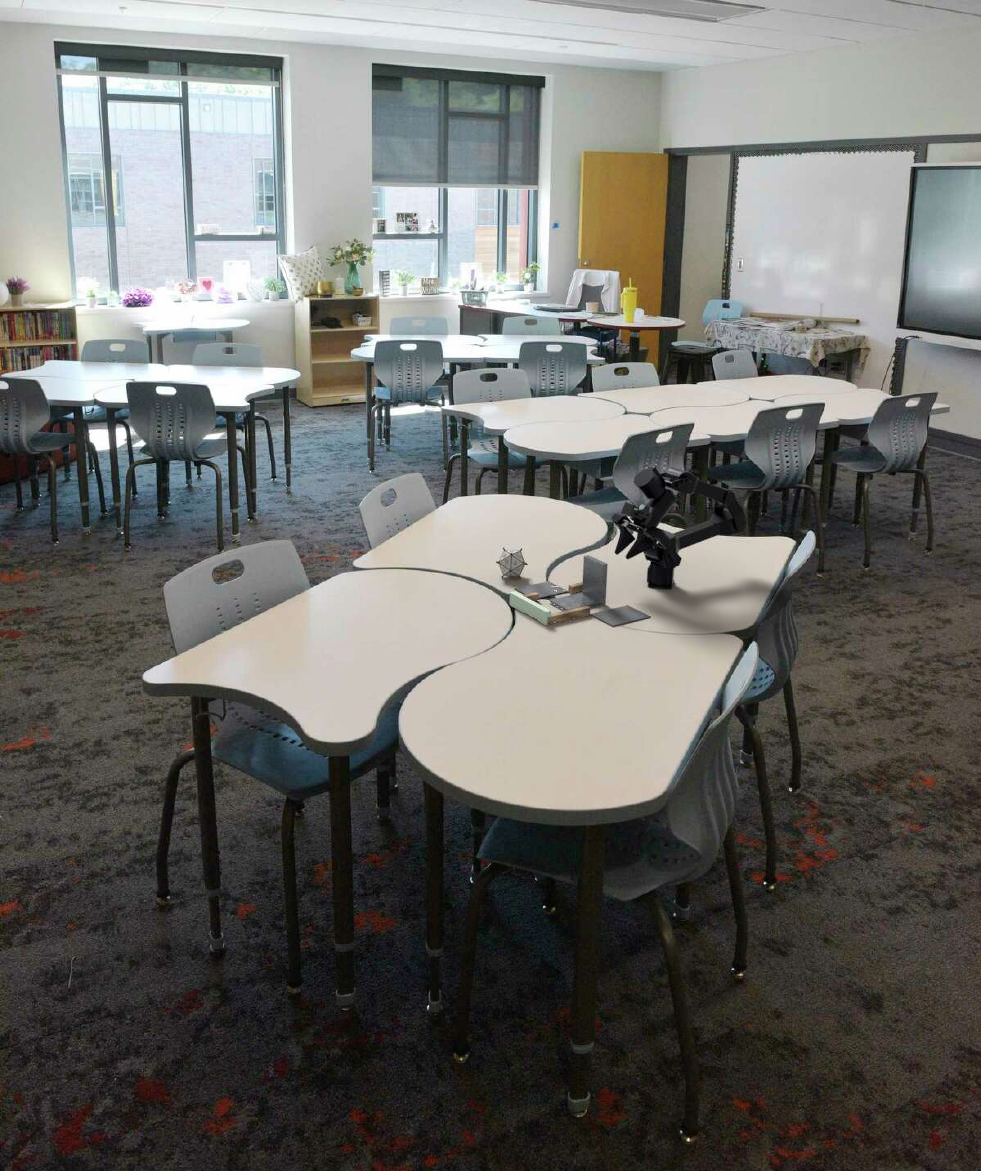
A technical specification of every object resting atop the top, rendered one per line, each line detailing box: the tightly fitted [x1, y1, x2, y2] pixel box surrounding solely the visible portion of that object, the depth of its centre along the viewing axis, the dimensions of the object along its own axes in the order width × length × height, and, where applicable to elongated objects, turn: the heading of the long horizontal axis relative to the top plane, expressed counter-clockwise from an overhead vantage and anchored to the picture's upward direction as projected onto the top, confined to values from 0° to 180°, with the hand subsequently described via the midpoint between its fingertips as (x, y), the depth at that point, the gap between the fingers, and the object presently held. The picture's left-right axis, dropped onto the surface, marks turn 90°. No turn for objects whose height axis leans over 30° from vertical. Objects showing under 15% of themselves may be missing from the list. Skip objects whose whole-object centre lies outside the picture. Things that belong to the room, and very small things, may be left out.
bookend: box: [548, 555, 608, 611], centre depth 275 cm, size 12×8×11 cm, turn 122°
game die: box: [495, 547, 528, 580], centre depth 294 cm, size 9×8×10 cm
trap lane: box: [514, 580, 652, 628], centre depth 275 cm, size 25×34×2 cm
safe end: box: [509, 590, 552, 626], centre depth 268 cm, size 2×16×4 cm, turn 32°
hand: (621, 556), depth 280 cm, fingers open, 4 cm apart
